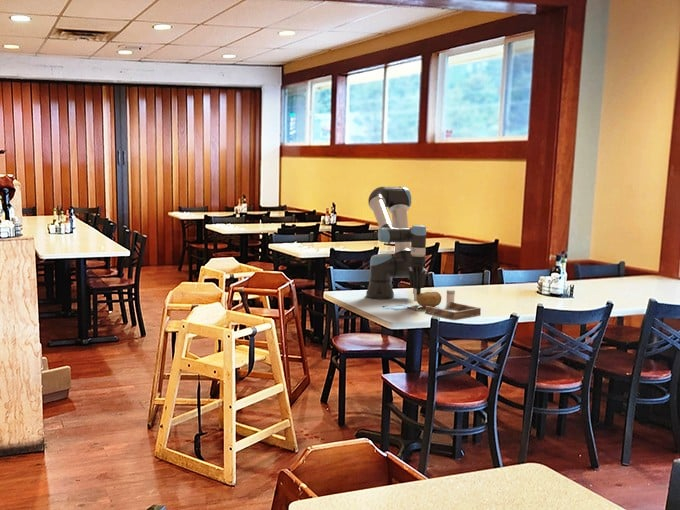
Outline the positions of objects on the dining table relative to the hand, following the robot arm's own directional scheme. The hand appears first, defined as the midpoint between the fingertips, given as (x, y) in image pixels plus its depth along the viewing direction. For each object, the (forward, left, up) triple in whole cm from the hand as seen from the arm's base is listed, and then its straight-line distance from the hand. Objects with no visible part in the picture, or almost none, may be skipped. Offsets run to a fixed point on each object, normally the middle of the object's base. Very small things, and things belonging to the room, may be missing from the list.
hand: (416, 300), depth 364 cm
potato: (+8, 0, -3) cm, 8 cm away
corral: (+24, 0, -2) cm, 24 cm away
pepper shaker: (+12, +12, -2) cm, 17 cm away
